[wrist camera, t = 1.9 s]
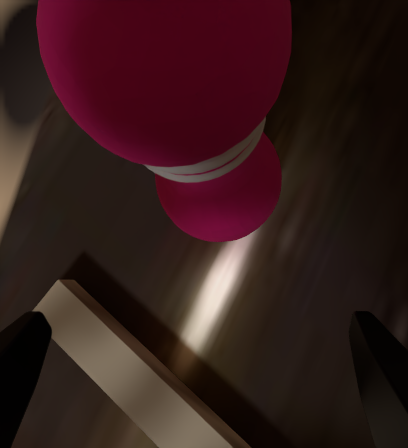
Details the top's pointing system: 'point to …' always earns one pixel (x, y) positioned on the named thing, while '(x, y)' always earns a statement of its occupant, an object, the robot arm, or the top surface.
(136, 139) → the pepper mill
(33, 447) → the top surface
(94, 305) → the flat beige strip
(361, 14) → the top surface
